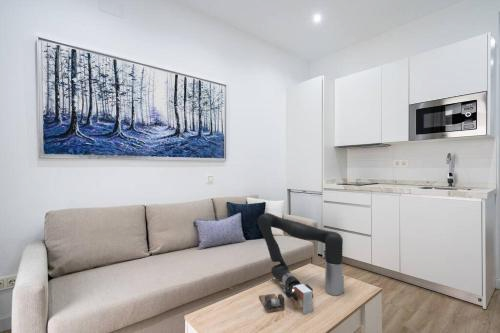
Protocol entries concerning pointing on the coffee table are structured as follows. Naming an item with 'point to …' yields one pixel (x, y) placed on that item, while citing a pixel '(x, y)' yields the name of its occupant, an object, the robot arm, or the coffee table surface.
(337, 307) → the coffee table surface
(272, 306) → the stand
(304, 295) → the small box
